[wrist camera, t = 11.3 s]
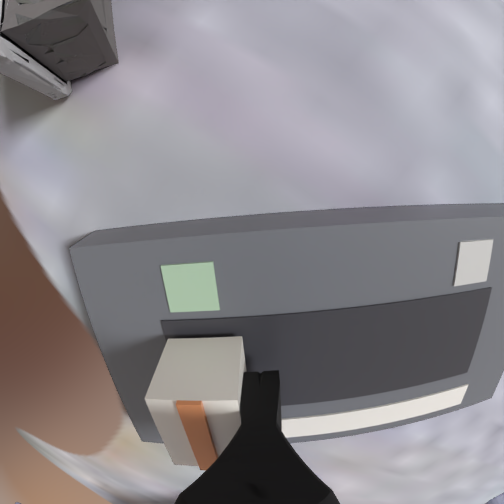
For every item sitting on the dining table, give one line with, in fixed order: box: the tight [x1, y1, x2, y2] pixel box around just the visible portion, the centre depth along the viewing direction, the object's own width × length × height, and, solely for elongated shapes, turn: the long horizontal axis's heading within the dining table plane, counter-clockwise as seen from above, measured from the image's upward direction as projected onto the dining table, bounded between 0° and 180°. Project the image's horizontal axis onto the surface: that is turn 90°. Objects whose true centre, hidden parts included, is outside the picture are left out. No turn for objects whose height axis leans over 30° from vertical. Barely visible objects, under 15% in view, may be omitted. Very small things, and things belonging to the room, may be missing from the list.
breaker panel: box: [69, 204, 504, 443], centre depth 14 cm, size 12×22×3 cm, turn 95°
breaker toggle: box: [145, 336, 247, 470], centre depth 11 cm, size 4×3×4 cm
